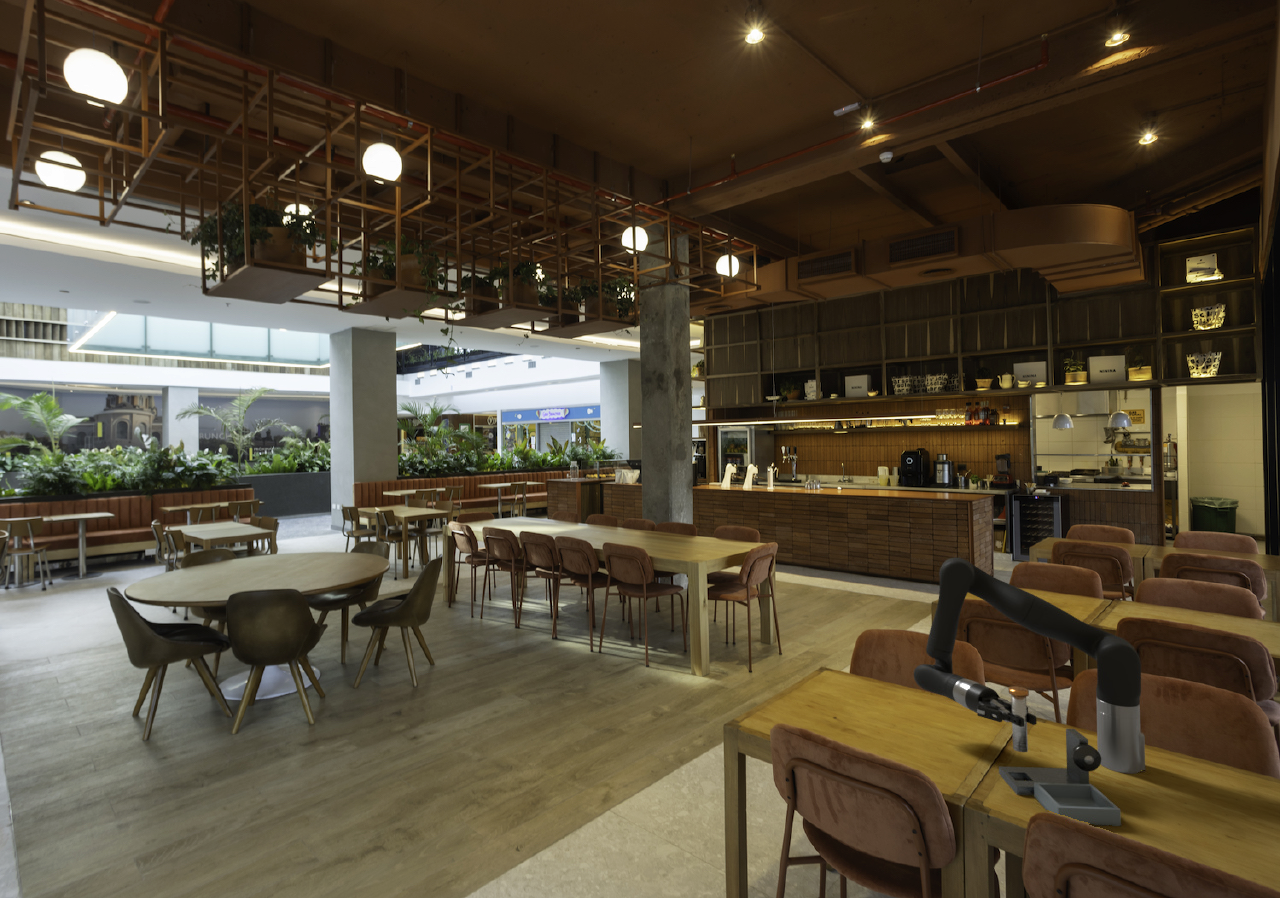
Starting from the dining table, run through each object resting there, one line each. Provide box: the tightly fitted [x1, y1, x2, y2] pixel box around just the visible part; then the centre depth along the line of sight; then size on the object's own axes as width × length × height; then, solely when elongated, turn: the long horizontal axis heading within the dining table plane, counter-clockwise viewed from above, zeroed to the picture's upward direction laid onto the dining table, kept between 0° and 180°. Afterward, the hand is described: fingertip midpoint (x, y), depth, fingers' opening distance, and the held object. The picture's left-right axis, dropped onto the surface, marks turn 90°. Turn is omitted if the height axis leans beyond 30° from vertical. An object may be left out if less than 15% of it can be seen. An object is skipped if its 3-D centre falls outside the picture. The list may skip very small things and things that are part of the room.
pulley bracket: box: [998, 728, 1101, 796], centre depth 162 cm, size 20×10×13 cm, turn 84°
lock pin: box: [1007, 685, 1030, 753], centre depth 163 cm, size 4×4×15 cm
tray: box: [1033, 783, 1122, 827], centre depth 151 cm, size 13×11×4 cm
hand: (1029, 721), depth 160 cm, fingers closed on lock pin, 3 cm apart
